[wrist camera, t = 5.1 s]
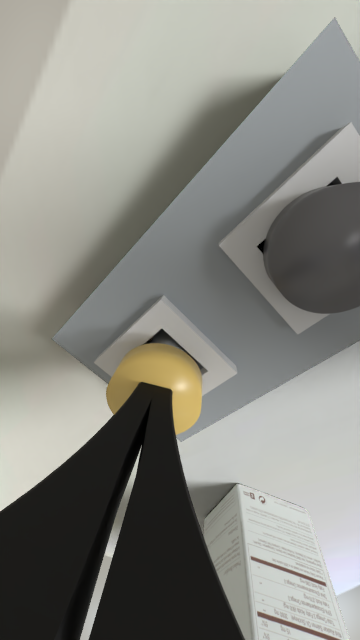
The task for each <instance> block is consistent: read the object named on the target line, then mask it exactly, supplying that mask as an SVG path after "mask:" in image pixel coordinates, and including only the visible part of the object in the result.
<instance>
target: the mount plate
mask: <svg viewBox="0 0 360 640" xmlns="http://www.w3.org/2000/svg"><path fill="white" fill-rule="evenodd" d="M352 182H360V61H359V59H358V58H357V56H356V54H355V52H354V50H353V49H352V47H351V45H350V43H349V41H348V40H347V38H346V36H345V34H344V33H343V31H342V29H341V27H340V25H339V24H338V22H337V20H336V18H335V17H334V19H333V20H332V21H331V22H330V23H329V24H328V25H327V27H326V28H325V29H324V30H323V31H322V32H321V33H320V35H319V36H318V37H317V38H316V39H315V40H314V41H313V42H312V44H311V45H310V46H309V47H308V48H307V49H306V50H305V52H304V53H303V54H302V55H301V56H300V57H299V58H298V60H297V61H296V62H295V63H294V64H293V65H292V66H291V67H290V69H289V70H288V71H287V72H286V73H285V74H284V75H283V77H282V78H281V79H280V80H279V81H278V82H277V83H276V85H275V86H274V87H273V88H272V89H271V90H270V91H269V92H268V94H267V95H266V96H265V97H264V98H263V99H262V100H261V102H260V103H259V104H258V105H257V106H256V107H255V108H254V110H253V111H252V112H251V113H250V114H249V115H248V116H247V117H246V119H245V120H244V121H243V122H242V123H241V124H240V125H239V127H238V128H237V129H236V130H235V131H234V132H233V133H232V135H231V136H230V137H229V138H228V139H227V140H226V141H225V142H224V144H223V145H222V146H221V147H220V148H219V149H218V150H217V152H216V153H215V154H214V155H213V156H212V157H211V158H210V160H209V161H208V162H207V163H206V164H205V165H204V166H203V167H202V169H201V170H200V171H199V172H198V173H197V174H196V175H195V177H194V178H193V179H192V180H191V181H190V182H189V183H188V185H187V186H186V187H185V188H184V189H183V190H182V191H181V192H180V194H179V195H178V196H177V197H176V198H175V199H174V200H173V202H172V203H171V204H170V205H169V206H168V207H167V208H166V210H165V211H164V212H163V213H162V214H161V215H160V216H159V217H158V219H157V220H156V221H155V222H154V223H153V224H152V225H151V227H150V228H149V229H148V230H147V231H146V232H145V233H144V235H143V236H142V237H141V238H140V239H139V240H138V241H137V242H136V244H135V245H134V246H133V247H132V248H131V249H130V250H129V252H128V253H127V254H126V255H125V256H124V257H123V258H122V260H121V261H120V262H119V263H118V264H117V265H116V266H115V267H114V269H113V270H112V271H111V272H110V273H109V274H108V275H107V277H106V278H105V279H104V280H103V281H102V282H101V283H100V285H99V286H98V287H97V288H96V289H95V290H94V291H93V292H92V294H91V295H90V296H89V297H88V298H87V299H86V300H85V302H84V303H83V304H82V305H81V306H80V307H79V308H78V310H77V311H76V312H75V313H74V314H73V315H72V316H71V317H70V319H69V320H68V321H67V322H66V323H65V324H64V325H63V327H62V328H61V329H60V330H59V331H58V332H57V333H56V335H55V336H54V337H53V338H52V340H53V341H55V342H56V343H57V344H58V345H60V346H61V347H62V348H64V349H65V350H66V351H67V352H69V353H70V354H71V355H72V356H74V357H75V358H76V359H77V360H79V361H80V362H81V363H82V364H84V365H85V366H86V367H87V368H89V369H90V370H91V371H93V372H94V373H95V374H96V375H98V376H99V377H100V378H101V379H103V380H104V381H105V382H106V383H108V384H109V382H110V380H111V378H112V376H113V374H114V373H115V371H116V369H117V367H118V366H119V364H120V362H121V361H122V359H123V357H124V356H125V355H126V354H127V353H128V352H129V351H130V350H132V349H133V348H135V347H137V346H140V345H144V344H149V343H151V342H150V341H149V339H150V338H151V337H152V336H154V335H155V334H156V333H157V332H158V331H159V330H160V329H163V330H165V331H166V332H167V333H168V334H169V335H170V336H171V337H172V338H173V339H174V340H175V341H176V342H177V343H179V344H180V345H181V346H182V347H183V348H184V349H185V350H186V351H187V352H188V355H189V356H190V357H191V358H192V359H193V360H194V361H195V362H196V364H197V365H198V367H199V369H200V371H201V374H202V403H201V413H200V416H199V418H198V420H197V421H196V423H195V424H194V425H193V426H192V427H191V428H189V429H188V430H186V431H184V432H182V433H180V434H177V435H176V438H177V439H178V440H180V441H181V442H182V441H184V440H185V439H187V438H189V437H191V436H192V435H194V434H196V433H198V432H199V431H201V430H203V429H205V428H207V427H208V426H210V425H212V424H214V423H215V422H217V421H219V420H221V419H222V418H224V417H226V416H228V415H229V414H231V413H233V412H235V411H236V410H238V409H240V408H242V407H243V406H245V405H247V404H249V403H250V402H252V401H254V400H256V399H257V398H259V397H261V396H263V395H264V394H266V393H268V392H270V391H272V390H273V389H275V388H277V387H279V386H280V385H282V384H284V383H286V382H287V381H289V380H291V379H293V378H294V377H296V376H298V375H300V374H301V373H303V372H305V371H307V370H308V369H310V368H312V367H314V366H315V365H317V364H319V363H321V362H322V361H324V360H326V359H328V358H329V357H331V356H333V355H335V354H337V353H338V352H340V351H342V350H344V349H345V348H347V347H349V346H351V345H352V344H354V343H356V342H358V341H359V340H360V306H359V307H357V308H354V309H351V310H348V311H344V312H340V313H332V314H320V313H312V312H308V311H305V310H302V309H300V308H298V307H296V306H294V305H293V304H291V303H290V302H289V301H288V300H287V299H286V298H285V297H284V296H283V295H282V294H281V293H280V291H279V290H278V289H277V287H276V286H275V285H274V284H273V282H272V281H271V280H270V278H269V276H268V274H267V272H266V269H265V266H264V261H263V253H262V252H261V251H260V250H259V249H258V247H257V246H258V245H259V244H260V243H261V242H262V241H263V240H265V239H266V236H267V233H268V231H269V229H270V227H271V225H272V223H273V222H274V220H275V218H276V217H277V216H278V215H279V213H280V212H281V211H282V210H283V209H284V208H285V207H286V206H287V205H288V204H289V203H291V202H292V201H293V200H294V199H296V198H298V197H299V196H301V195H302V194H304V193H307V192H309V191H311V190H314V189H317V188H321V187H326V186H332V185H338V184H345V183H352Z"/></svg>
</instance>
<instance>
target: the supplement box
mask: <svg viewBox="0 0 360 640" xmlns="http://www.w3.org/2000/svg"><path fill="white" fill-rule="evenodd" d="M204 539H205V542H206V545H207V548H208V551H209V554H210V556H211V559H212V562H213V564H214V567H215V569H216V572H217V574H218V577H219V579H220V582H221V584H222V587H223V589H224V592H225V594H226V596H227V599H228V601H229V604H230V606H231V608H232V611H233V613H234V615H235V618H236V620H237V622H238V624H239V627H240V629H241V631H242V634H243V636H244V638H245V640H350V638H349V635H348V632H347V629H346V626H345V623H344V620H343V616H342V613H341V610H340V607H339V604H338V601H337V598H336V595H335V592H334V589H333V586H332V582H331V579H330V576H329V573H328V570H327V567H326V564H325V561H324V558H323V555H322V551H321V548H320V545H319V542H318V539H317V536H316V533H315V530H314V527H313V524H312V521H311V518H310V515H309V512H308V510H306V509H305V508H302V507H300V506H297V505H295V504H292V503H290V502H287V501H284V500H282V499H279V498H277V497H274V496H271V495H269V494H266V493H263V492H261V491H258V490H255V489H252V488H250V487H247V486H244V485H241V484H236V485H235V486H234V487H233V488H232V490H231V491H230V492H229V493H228V494H227V495H226V496H225V497H224V498H223V499H222V501H221V502H220V503H219V504H218V505H217V506H216V507H215V508H214V509H213V510H212V511H211V513H210V514H209V515H208V516H207V517H206V518H205V519H204Z"/></svg>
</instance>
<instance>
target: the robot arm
mask: <svg viewBox="0 0 360 640" xmlns="http://www.w3.org/2000/svg"><path fill="white" fill-rule="evenodd" d="M172 395H173V391H172V390H171V389H169V388H165V387H161V386H157V385H153V384H149V383H145V382H140V383H139V384H138V385H137V387H136V388H135V390H134V391H133V393H132V394H131V395H130V397H129V398H128V399H127V400H126V402H125V403H124V404H123V405H122V406H121V407H120V409H119V410H118V411H117V412H116V413H115V414H114V415H113V416H112V418H111V419H110V420H109V421H108V422H107V423H106V424H105V425H104V426H103V427H102V428H101V429H100V430H99V431H98V432H97V433H96V434H95V435H94V436H93V437H92V438H91V439H90V440H89V441H88V442H87V443H86V444H85V445H84V446H83V447H81V448H80V449H79V450H78V451H77V452H76V453H75V454H74V455H72V456H71V457H70V458H69V459H68V460H67V461H66V462H64V463H63V464H62V465H61V466H60V467H58V468H57V469H56V470H55V471H53V472H52V473H51V474H50V475H48V476H47V477H46V478H45V479H44V480H42V481H41V482H40V483H38V484H37V485H36V486H35V487H33V488H32V489H31V490H29V491H28V492H27V493H25V494H24V495H22V496H21V497H20V498H18V499H17V500H16V501H14V502H13V503H11V504H10V505H9V506H7V507H6V508H4V509H3V510H2V511H0V640H80V636H81V633H82V630H83V626H84V623H85V619H86V616H87V612H88V609H89V605H90V602H91V598H92V595H93V591H94V588H95V584H96V581H97V578H98V574H99V571H100V567H101V563H102V560H103V557H104V554H105V550H106V547H107V543H108V540H109V537H110V533H111V530H112V526H113V523H114V520H115V516H116V513H117V510H118V508H119V505H120V502H121V499H122V496H123V494H124V491H125V488H126V486H127V483H128V480H129V478H130V475H131V472H132V470H133V467H134V464H135V462H136V459H137V456H138V454H139V451H140V448H141V452H140V458H139V463H138V468H137V474H136V478H135V481H134V485H133V488H132V492H131V495H130V499H129V503H128V506H127V510H126V513H125V517H124V520H123V524H122V527H121V530H120V534H119V537H118V541H117V544H116V548H115V551H114V555H113V558H112V562H111V565H110V569H109V572H108V575H107V579H106V583H105V586H104V589H103V593H102V596H101V599H100V603H99V606H98V610H97V613H96V617H95V621H94V624H93V627H92V631H91V634H90V637H89V640H245V638H244V636H243V634H242V631H241V629H240V627H239V624H238V622H237V620H236V618H235V615H234V613H233V611H232V608H231V606H230V604H229V601H228V599H227V596H226V594H225V592H224V589H223V587H222V584H221V582H220V579H219V577H218V574H217V572H216V569H215V567H214V564H213V562H212V559H211V556H210V554H209V551H208V548H207V545H206V542H205V539H204V537H203V534H202V531H201V528H200V525H199V523H198V520H197V517H196V514H195V511H194V507H193V504H192V501H191V498H190V494H189V491H188V487H187V484H186V480H185V476H184V472H183V468H182V464H181V460H180V455H179V450H178V445H177V440H176V433H175V427H174V419H173V407H172ZM141 446H142V447H141Z"/></svg>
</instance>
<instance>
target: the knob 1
mask: <svg viewBox="0 0 360 640" xmlns="http://www.w3.org/2000/svg"><path fill="white" fill-rule="evenodd" d="M140 382H145V383H149V384H153V385H157V386H161V387H165V388H169V389H171V390H172V391H173V395H172V407H173V419H174V427H175V433H176V435H177V434H180V433H182V432H184V431H186V430H188V429H189V428H191V427H192V426H193V425H194V424H195V423H196V421H197V420H198V418H199V416H200V413H201V403H202V374H201V371H200V369H199V367H198V365H197V364H196V362H195V361H194V360H193V359H192V358H191V357H190V356H189V355H188V352H187V351H186V350H185V349H184V348H183V347H182V346H181V345H180V344H179V343H177V342H176V341H175V340H174V339H173V338H172V337H171V336H170V335H169V334H168V333H167V332H166V331H165V330H163V329H160V330H159V331H158V332H157V333H156V334H155V335H154V336H153V338H152V340H151V343H149V344H144V345H140V346H137V347H135V348H133V349H132V350H130V351H129V352H128V353H127V354H126V355H125V356H124V357H123V359H122V361H121V362H120V364H119V366H118V367H117V369H116V371H115V373H114V374H113V376H112V378H111V380H110V382H109V384H108V386H107V391H106V397H107V402H108V405H109V408H110V409H111V411H112V413H113V414H115V413H116V412H117V411H118V410H119V409H120V407H121V406H122V405H123V404H124V403H125V402H126V400H127V399H128V398H129V397H130V395H131V394H132V393H133V391H134V390H135V388H136V387H137V385H138V384H139V383H140Z"/></svg>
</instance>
